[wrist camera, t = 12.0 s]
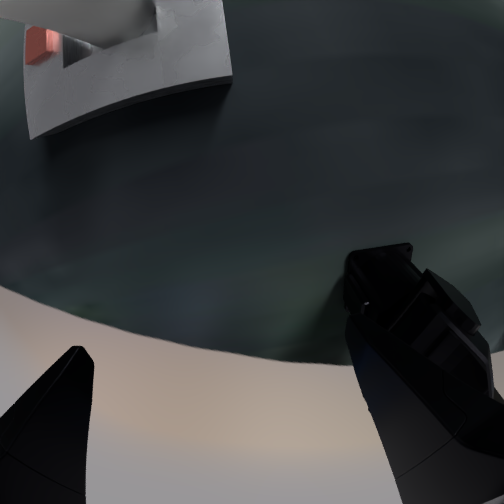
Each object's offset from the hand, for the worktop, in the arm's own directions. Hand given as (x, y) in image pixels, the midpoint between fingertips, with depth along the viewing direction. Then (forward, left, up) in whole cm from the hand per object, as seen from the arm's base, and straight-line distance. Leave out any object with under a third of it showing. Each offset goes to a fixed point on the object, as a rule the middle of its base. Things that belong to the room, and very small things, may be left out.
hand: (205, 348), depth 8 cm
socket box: (+5, -16, -13) cm, 21 cm away
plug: (+5, -16, -12) cm, 20 cm away
